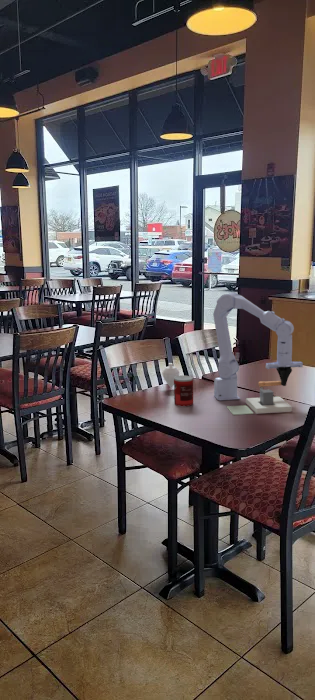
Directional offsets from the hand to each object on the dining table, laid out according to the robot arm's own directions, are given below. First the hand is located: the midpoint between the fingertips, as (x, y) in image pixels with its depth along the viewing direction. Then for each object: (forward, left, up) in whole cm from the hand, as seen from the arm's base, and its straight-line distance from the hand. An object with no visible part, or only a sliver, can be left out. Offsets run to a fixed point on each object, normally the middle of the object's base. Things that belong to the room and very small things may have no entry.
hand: (283, 385), depth 206 cm
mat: (-19, -5, -8) cm, 22 cm away
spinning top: (-41, +31, -8) cm, 52 cm away
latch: (-4, +2, 0) cm, 5 cm away
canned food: (-39, +8, -8) cm, 41 cm away
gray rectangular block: (-8, -4, -8) cm, 12 cm away
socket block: (-8, -3, -8) cm, 12 cm away
